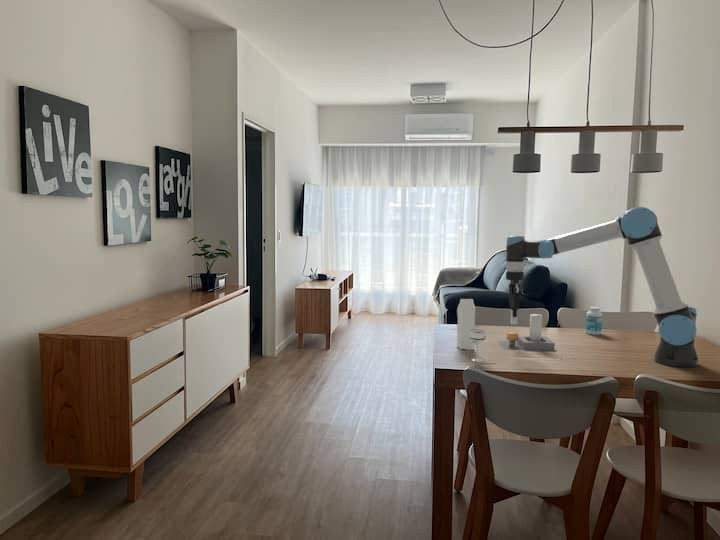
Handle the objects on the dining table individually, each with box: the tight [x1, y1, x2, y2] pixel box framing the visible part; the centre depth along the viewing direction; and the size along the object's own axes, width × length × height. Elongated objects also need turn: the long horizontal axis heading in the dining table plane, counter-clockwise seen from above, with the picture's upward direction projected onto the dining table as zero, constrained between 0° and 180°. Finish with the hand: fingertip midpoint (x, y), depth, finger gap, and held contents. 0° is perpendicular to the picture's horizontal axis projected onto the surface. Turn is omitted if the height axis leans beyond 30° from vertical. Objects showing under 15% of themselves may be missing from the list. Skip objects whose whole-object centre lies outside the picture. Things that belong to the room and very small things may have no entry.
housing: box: [497, 335, 557, 352], centre depth 230 cm, size 16×22×4 cm
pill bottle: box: [584, 306, 603, 336], centre depth 261 cm, size 8×7×14 cm
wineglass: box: [469, 328, 487, 363], centre depth 209 cm, size 7×7×12 cm
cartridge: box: [528, 313, 543, 342], centre depth 229 cm, size 5×5×14 cm
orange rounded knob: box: [506, 331, 519, 342], centre depth 230 cm, size 5×5×3 cm
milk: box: [456, 298, 476, 351], centre depth 228 cm, size 6×6×22 cm
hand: (513, 323), depth 229 cm, fingers closed
